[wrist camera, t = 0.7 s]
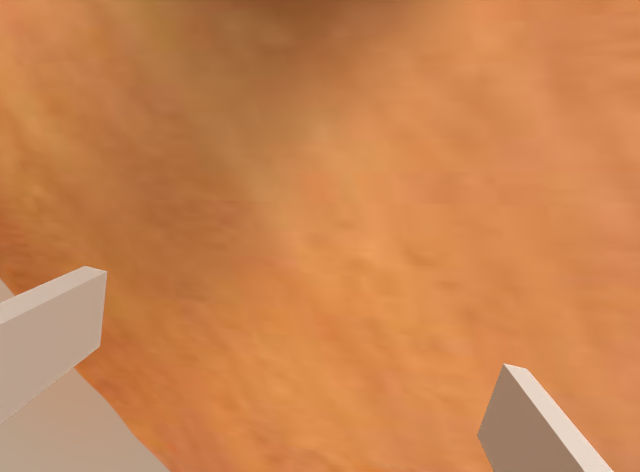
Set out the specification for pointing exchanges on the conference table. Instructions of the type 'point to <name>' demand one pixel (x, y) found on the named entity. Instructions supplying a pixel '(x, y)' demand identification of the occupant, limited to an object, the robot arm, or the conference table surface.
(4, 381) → the robot arm
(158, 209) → the conference table surface
